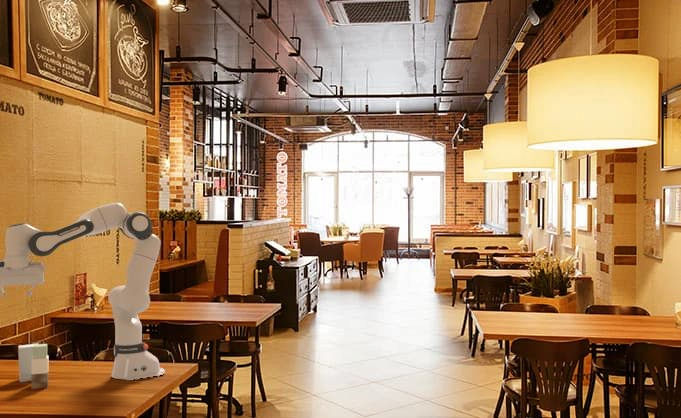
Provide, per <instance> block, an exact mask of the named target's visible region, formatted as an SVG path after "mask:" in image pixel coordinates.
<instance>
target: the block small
mask: <svg viewBox="0 0 681 418" xmlns="http://www.w3.org/2000/svg"><path fill="white" fill-rule="evenodd" d="M34 344H35V345H34V346H33V359H44V358H47V355H48V343H38V344H37V343H34Z"/></svg>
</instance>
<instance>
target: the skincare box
mask: <svg viewBox="0 0 681 418" xmlns="http://www.w3.org/2000/svg"><path fill="white" fill-rule="evenodd" d="M35 344H39V343H38V342H37V343H31V344H23V345H18V349H17V350H18V377H19V378H18V379H19V383H26V382H31V374H32V357H33V346H34V345H35Z"/></svg>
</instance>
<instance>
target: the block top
mask: <svg viewBox="0 0 681 418" xmlns="http://www.w3.org/2000/svg"><path fill="white" fill-rule="evenodd" d="M49 359H50V358H49V355H48V354H47V358H44V359H33V357H32V374H43V373H48V374H49V368H50V367H49V366H50V365H49Z"/></svg>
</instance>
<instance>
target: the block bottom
mask: <svg viewBox="0 0 681 418" xmlns="http://www.w3.org/2000/svg"><path fill="white" fill-rule="evenodd" d="M30 383H31V385H30V388H31V390H37V389H46V388H49V372H48V373H43V374H31V381H30Z"/></svg>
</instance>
